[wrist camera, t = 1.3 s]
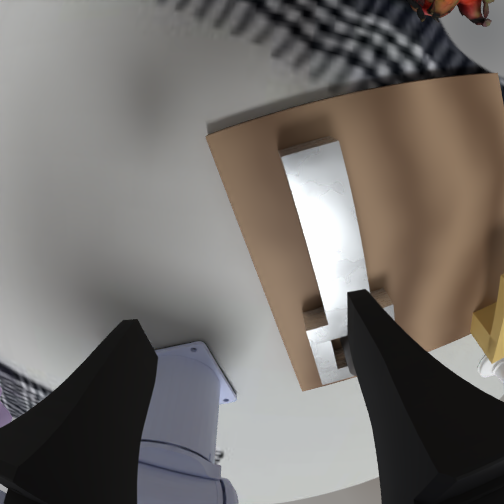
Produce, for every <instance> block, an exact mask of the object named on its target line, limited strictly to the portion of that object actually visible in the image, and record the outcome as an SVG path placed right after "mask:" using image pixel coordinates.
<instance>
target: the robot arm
mask: <svg viewBox="0 0 504 504" xmlns="http://www.w3.org/2000/svg"><path fill="white" fill-rule="evenodd" d="M347 337H348V341H349V346H350V352H351V356H352V361H353V365H354V368H355V371H356V374H357V378H358V381H359V384H360V387H361V390H362V394H363V397H364V400H365V403H366V407H367V410H368V413H369V417H370V421H371V425H372V430H373V436H374V442H375V448H376V455H377V462H378V470H379V478H380V488H381V497H382V498H381V499H382V504H504V402H502V401H500V400H498V399H496V398H495V397H493V396H491V395H489V394H487V393H485V392H483V391H482V390H480V389H478V388H477V387H475V386H474V385H472V384H470V383H469V382H467V381H466V380H464V379H462V378H461V377H459V376H458V375H456V374H455V373H454V372H452V371H451V370H450V369H448V368H447V367H445V366H444V365H443V364H442V363H440V362H439V361H438V360H436V359H435V358H434V357H433V356H432V355H430V354H429V353H428V352H427V351H426V350H425V349H423V348H422V347H421V346H420V345H419V344H418V343H417V342H416V341H415V340H414V339H413V338H411V337H410V336H409V335H408V334H407V333H406V332H405V331H404V330H403V329H402V328H401V327H400V326H399V325H398V324H397V323H396V322H395V321H394V320H393V318H392V317H391V316H390V315H389V314H388V313H387V312H386V311H385V310H384V309H383V308H382V306H381V305H380V304H379V303H378V302H377V301H376V300H375V298H374V297H373V296H372V295H371V294H370V293H369V291H367V290H366V289H362V290H356V291H350V292H347ZM193 348H196V349H193ZM236 400H237V396H236V394H235V393H234V391H233V389H232V388H231V386H230V385H229V383H228V381H227V380H226V378H225V376H224V375H223V373H222V371H221V370H220V368H219V366H218V365H217V363H216V361H215V360H214V358H213V356H212V355H211V353H210V351H209V350H208V348H207V346H206V344H205V343H203V342H201V341H197V342H192V343H188V344H183V345H178V346H173V347H169V348H164V349H159V350H154V349H153V347H152V345H151V344H150V342H149V340H148V338H147V336H146V334H145V333H144V331H143V329H142V327H141V325H140V323H139V321H138V320H137V319H133V320H123V321H122V322H121V323H120V324H119V325H118V326H117V327H116V328H115V329H114V330H113V331H112V332H111V333H110V334H109V335H108V336H107V337H106V338H105V339H104V340H103V341H102V342H101V344H100V345H99V346H98V347H97V348H96V349H95V350H94V351H93V352H92V353H91V354H90V356H89V357H88V358H87V359H86V360H85V361H84V362H83V363H82V364H81V365H80V366H79V367H78V368H77V369H76V370H75V371H74V372H73V373H72V374H71V375H70V376H69V377H68V378H67V379H66V380H65V381H64V382H63V383H62V384H61V385H60V386H59V387H58V388H57V389H55V390H54V391H53V392H52V393H51V394H50V395H48V396H47V397H46V398H45V399H44V400H42V401H41V402H39V403H38V404H37V405H35V406H34V407H33V408H31V409H30V410H29V411H27V412H26V413H24V414H23V415H21V416H20V417H18V418H17V419H15V420H13V421H12V422H10V423H8V424H6V425H5V426H3V427H1V428H0V484H2V485H3V486H5V487H6V488H8V491H7V494H6V493H5V492H3V491H1V490H0V504H238V496H237V493H236V490H235V489H234V487H233V486H232V484H231V482H230V481H229V480H228V479H226V478H221V465H217V464H214V462H215V449H216V436H217V424H218V411H219V404H224V403H230V402H235V401H236Z"/></svg>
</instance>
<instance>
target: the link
mask: <svg viewBox="0 0 504 504" xmlns="http://www.w3.org/2000/svg"><path fill="white" fill-rule="evenodd" d="M278 153H279V156H280V159H281V162H282V165H283V168H284V171H285V175H286V178H287V181H288V184H289V188H290V191H291V194H292V197H293V201H294V204H295V207H296V211H297V214H298V217H299V221H300V224H301V228H302V231H303V235H304V238H305V242H306V245H307V249H308V252H309V256H310V259H311V263H312V267H313V270H314V274H315V278H316V282H317V285H318V289H319V293H320V297H321V301H322V304H323V307H320V308H316V309H313V310H309V311H306V312H302V314H303V319H304V324H305V328H306V333H307V336H308V339H309V342H310V346H311V349H312V352H313V355H314V359H315V362H316V365H317V369H318V372H319V375H320V379H321V382H322V385H325V384H329V383H332V382H336V381H339V380H343V379H346V378H350V377H353V376H354V375H352V374H351V373H350V371H349V368H348V365H347V361H346V358H345V355H344V351H343V348H341V349H337V350H334V351H333V348H332V344H331V340H333V339H336V338H340V337H343V336H347V292H350V291H356V290H362V289H366V290H367V291H369V293H370V294H371V295H372V296H373V297H374V298H375V300H376V301H377V302H378V303H379V304H380V305H381V306H382V308H383V309H384V310H385V311H386V312H387V313H388V314H389V315H390V316H391V317H392V318H393V320H394V321H395V319H394V305H393V303H392V301H391V299H390V298H389V296H388V294H387V292H386V291H385V289H384V288H381V289H378V290H375V291H372V292H370V290H369V283H368V277H367V271H366V265H365V259H364V253H363V247H362V242H361V236H360V231H359V226H358V221H357V216H356V211H355V206H354V202H353V197H352V193H351V188H350V184H349V180H348V175H347V171H346V167H345V163H344V159H343V155H342V151H341V147H340V143H339V141H338V140H336V139H335V138H333V137H331V136H327V137H323V138H320V139H316V140H312V141H309V142H305V143H302V144H298V145H295V146H291V147H288V148H285V149H281V150H278Z"/></svg>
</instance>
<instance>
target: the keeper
mask: <svg viewBox="0 0 504 504" xmlns="http://www.w3.org/2000/svg"><path fill="white" fill-rule="evenodd" d="M470 333H471V334H472V335H473V337H474V338H475V340H476V341H477V343H478V344H479V346H480V347H481V348H482V350H483V351H484V353H485V354H486V356H487V357H488V359H489V360H490V362H491V364H493V363H495V362H497V361H498V360H500V359H502V358H504V274H502V275H501V277H500V284H499V291H498V298H497V302H495V303H493V304H491V305H489V306H487V307H485V308H483V309H481V310H478V311H476V312H474V313H473V316H472V323H471V329H470Z"/></svg>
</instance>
